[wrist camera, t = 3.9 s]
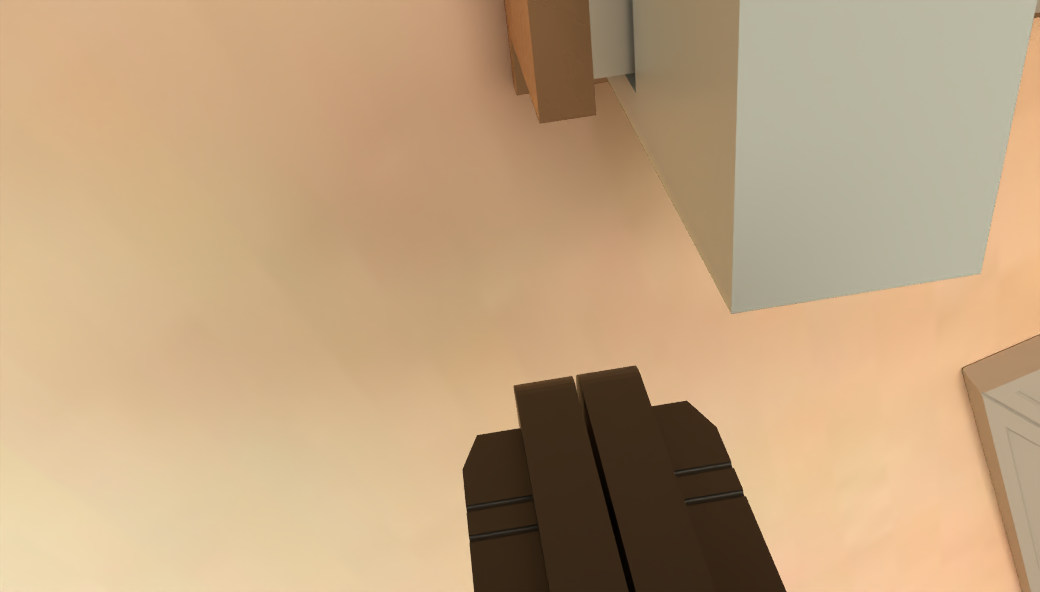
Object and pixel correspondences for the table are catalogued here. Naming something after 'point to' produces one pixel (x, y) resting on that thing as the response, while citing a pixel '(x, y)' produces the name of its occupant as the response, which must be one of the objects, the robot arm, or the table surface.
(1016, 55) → the pale grey rectangular block
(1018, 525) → the envelope
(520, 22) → the rail
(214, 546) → the table surface
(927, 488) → the table surface
